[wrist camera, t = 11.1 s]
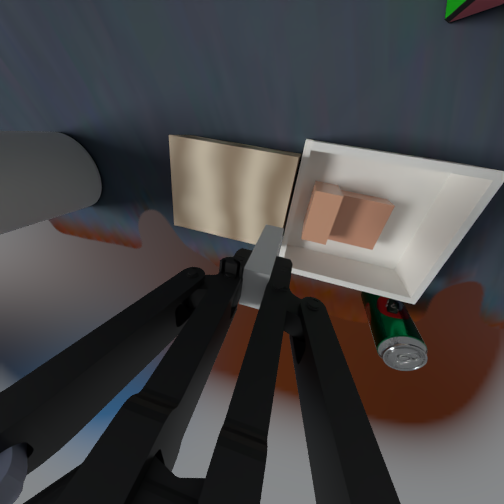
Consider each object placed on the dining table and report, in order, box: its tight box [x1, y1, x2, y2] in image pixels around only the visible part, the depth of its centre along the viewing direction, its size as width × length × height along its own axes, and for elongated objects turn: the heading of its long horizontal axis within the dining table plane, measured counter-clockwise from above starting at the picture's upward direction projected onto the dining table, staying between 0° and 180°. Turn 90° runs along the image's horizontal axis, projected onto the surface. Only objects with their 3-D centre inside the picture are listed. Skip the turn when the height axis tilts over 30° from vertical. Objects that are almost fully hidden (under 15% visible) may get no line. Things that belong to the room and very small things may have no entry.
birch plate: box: [169, 135, 301, 245], centre depth 30 cm, size 16×12×5 cm
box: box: [279, 139, 504, 305], centre depth 26 cm, size 18×16×7 cm
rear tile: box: [328, 190, 395, 250], centre depth 28 cm, size 6×6×3 cm
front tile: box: [301, 181, 344, 245], centre depth 27 cm, size 6×6×3 cm
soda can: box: [361, 291, 427, 371], centre depth 29 cm, size 5×5×12 cm
